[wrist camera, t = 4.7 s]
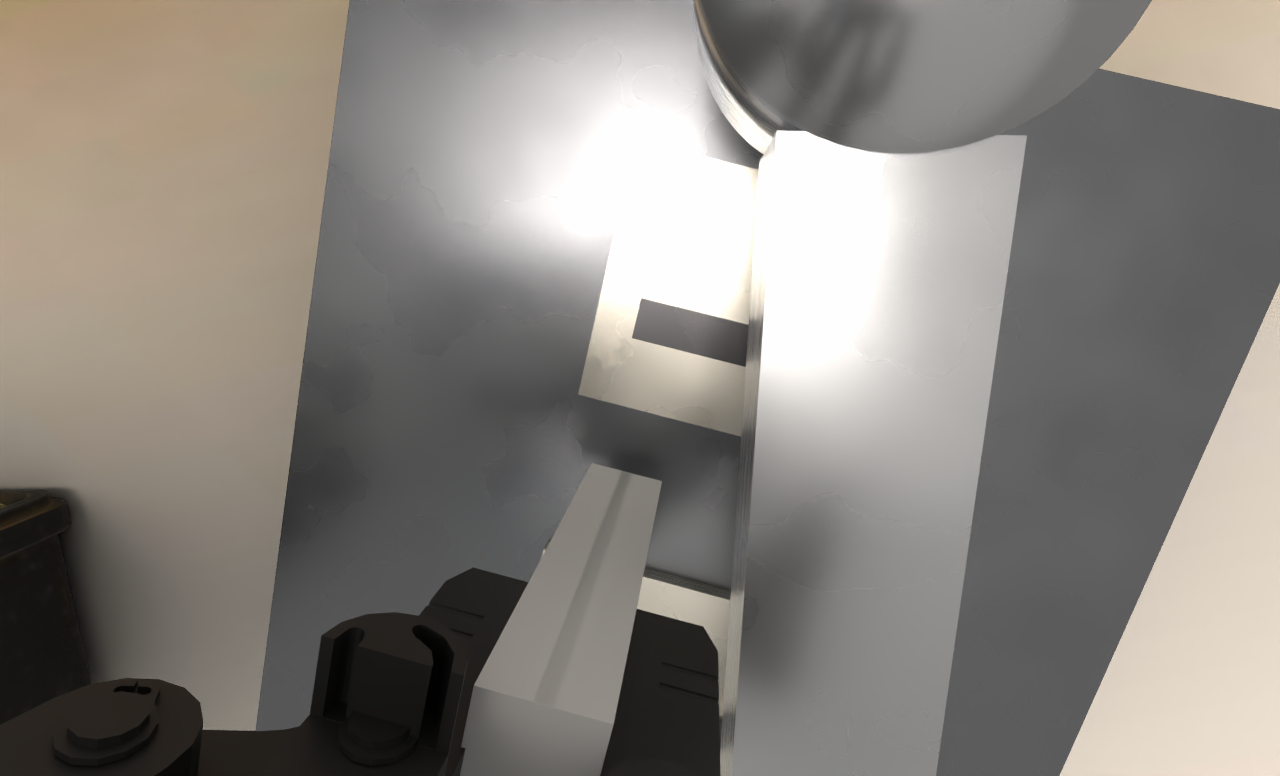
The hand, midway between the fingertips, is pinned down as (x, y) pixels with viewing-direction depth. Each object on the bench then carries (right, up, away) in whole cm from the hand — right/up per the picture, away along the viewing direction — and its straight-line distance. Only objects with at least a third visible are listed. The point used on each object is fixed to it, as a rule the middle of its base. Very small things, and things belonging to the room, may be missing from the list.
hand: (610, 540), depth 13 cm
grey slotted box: (+2, +1, +5) cm, 5 cm away
